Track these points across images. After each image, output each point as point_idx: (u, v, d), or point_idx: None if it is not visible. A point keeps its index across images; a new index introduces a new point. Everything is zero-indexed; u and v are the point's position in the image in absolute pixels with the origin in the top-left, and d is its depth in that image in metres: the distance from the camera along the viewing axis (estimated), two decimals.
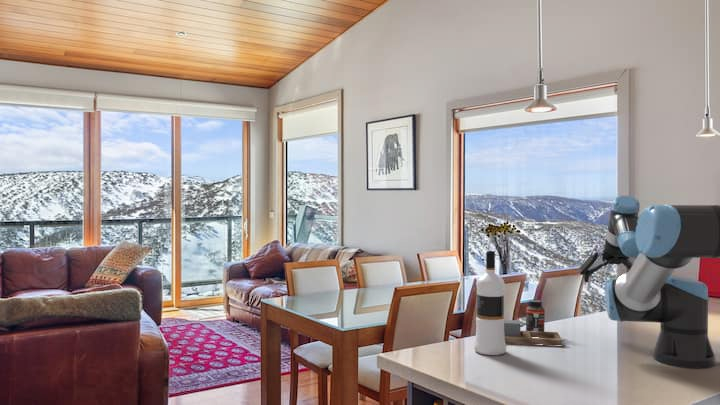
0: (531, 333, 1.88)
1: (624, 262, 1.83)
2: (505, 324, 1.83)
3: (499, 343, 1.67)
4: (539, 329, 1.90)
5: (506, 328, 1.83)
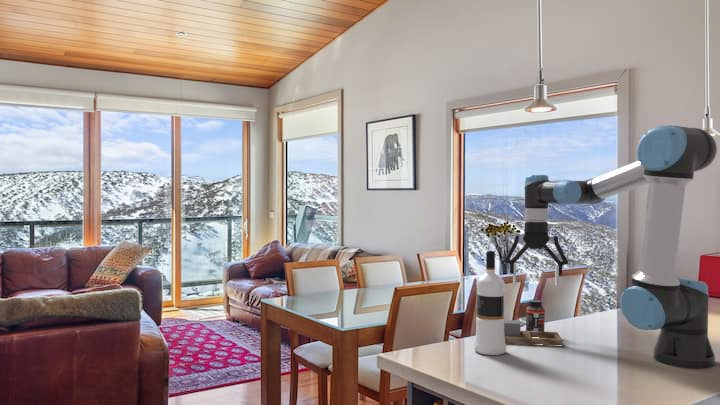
0: (531, 333, 1.88)
1: (544, 244, 1.91)
2: (505, 324, 1.83)
3: (499, 343, 1.67)
4: (539, 329, 1.90)
5: (506, 328, 1.83)
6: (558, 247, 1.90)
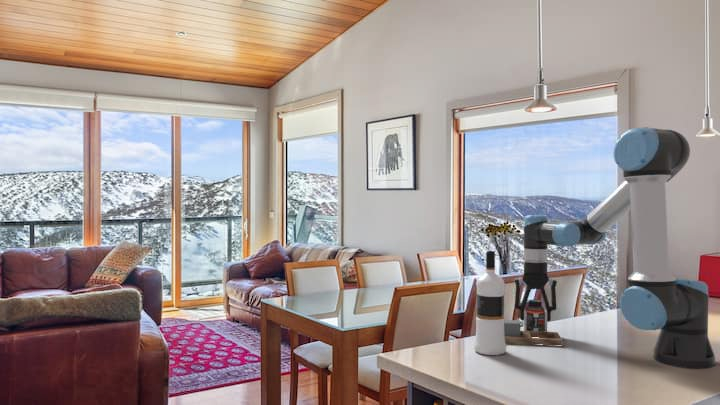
0: (531, 333, 1.88)
1: (541, 286, 1.91)
2: (505, 324, 1.83)
3: (499, 343, 1.67)
4: (539, 329, 1.90)
5: (506, 328, 1.83)
6: (553, 291, 1.91)
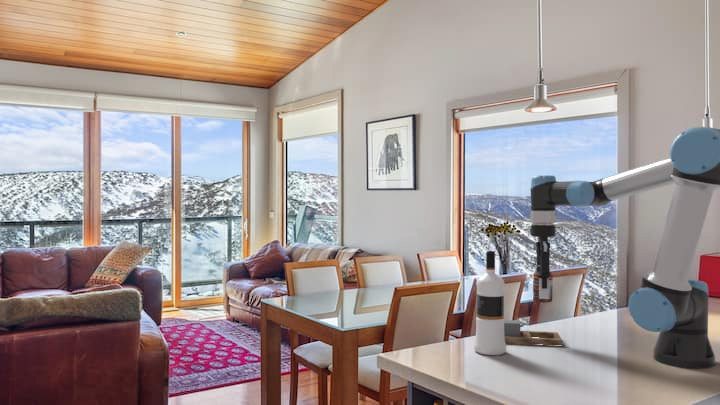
0: (531, 333, 1.88)
1: (537, 250, 1.82)
2: (505, 324, 1.83)
3: (499, 343, 1.67)
4: (534, 294, 1.83)
5: (506, 328, 1.83)
6: (541, 257, 1.78)
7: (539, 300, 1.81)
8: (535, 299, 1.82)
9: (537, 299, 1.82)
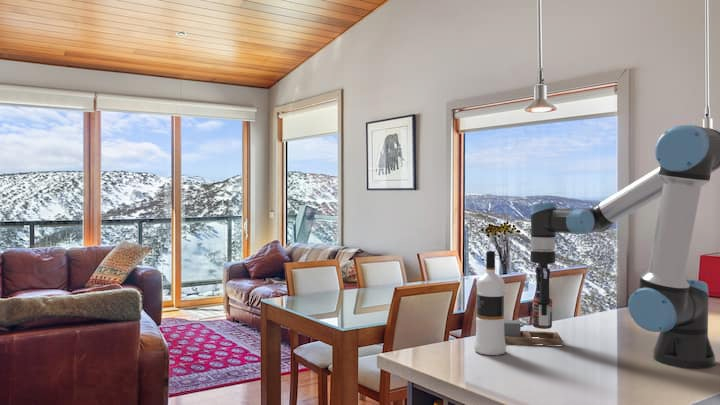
0: (531, 333, 1.88)
1: (537, 276, 1.82)
2: (505, 324, 1.83)
3: (499, 343, 1.67)
4: (533, 320, 1.83)
5: (506, 328, 1.83)
6: (540, 283, 1.78)
7: (539, 326, 1.81)
8: (535, 325, 1.82)
9: (537, 325, 1.82)
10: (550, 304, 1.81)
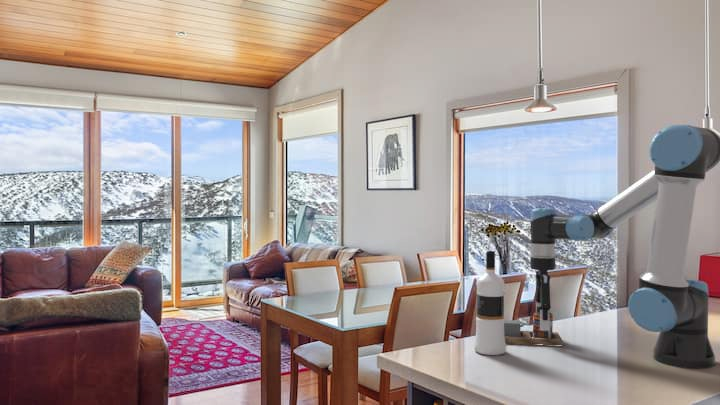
0: (531, 333, 1.88)
1: (537, 282, 1.82)
2: (505, 324, 1.83)
3: (499, 343, 1.67)
4: (534, 334, 1.83)
5: (506, 328, 1.83)
6: (541, 288, 1.77)
7: None
8: None
9: None
10: (550, 318, 1.81)
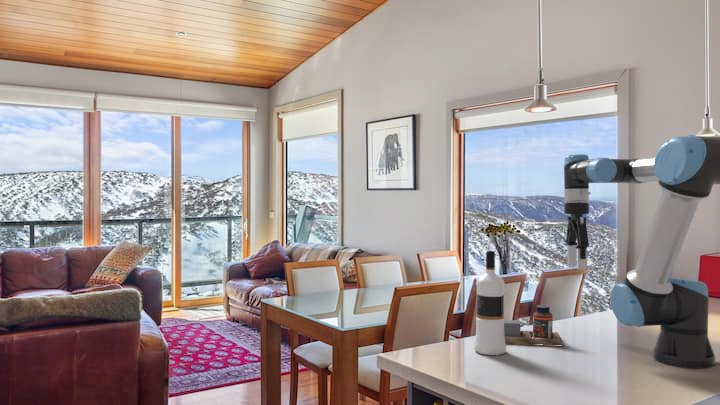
0: (531, 333, 1.88)
1: (573, 225, 1.87)
2: (505, 324, 1.83)
3: (499, 343, 1.67)
4: (534, 334, 1.83)
5: (506, 328, 1.83)
6: (578, 229, 1.82)
7: None
8: None
9: None
10: (550, 318, 1.81)
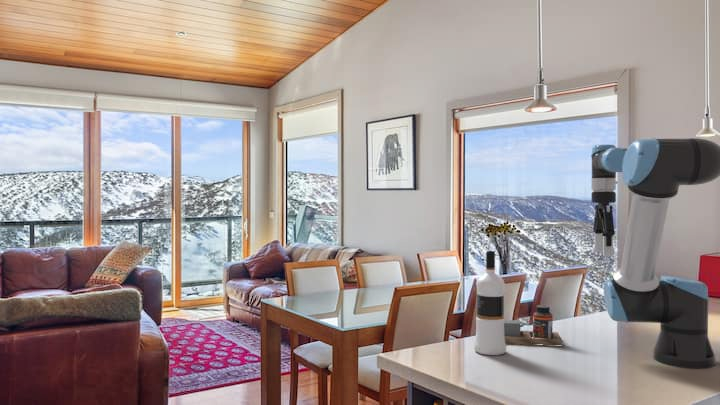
0: (531, 333, 1.88)
1: (599, 214, 1.92)
2: (505, 324, 1.83)
3: (499, 343, 1.67)
4: (534, 334, 1.83)
5: (506, 328, 1.83)
6: (604, 217, 1.87)
7: None
8: None
9: None
10: (550, 318, 1.81)
